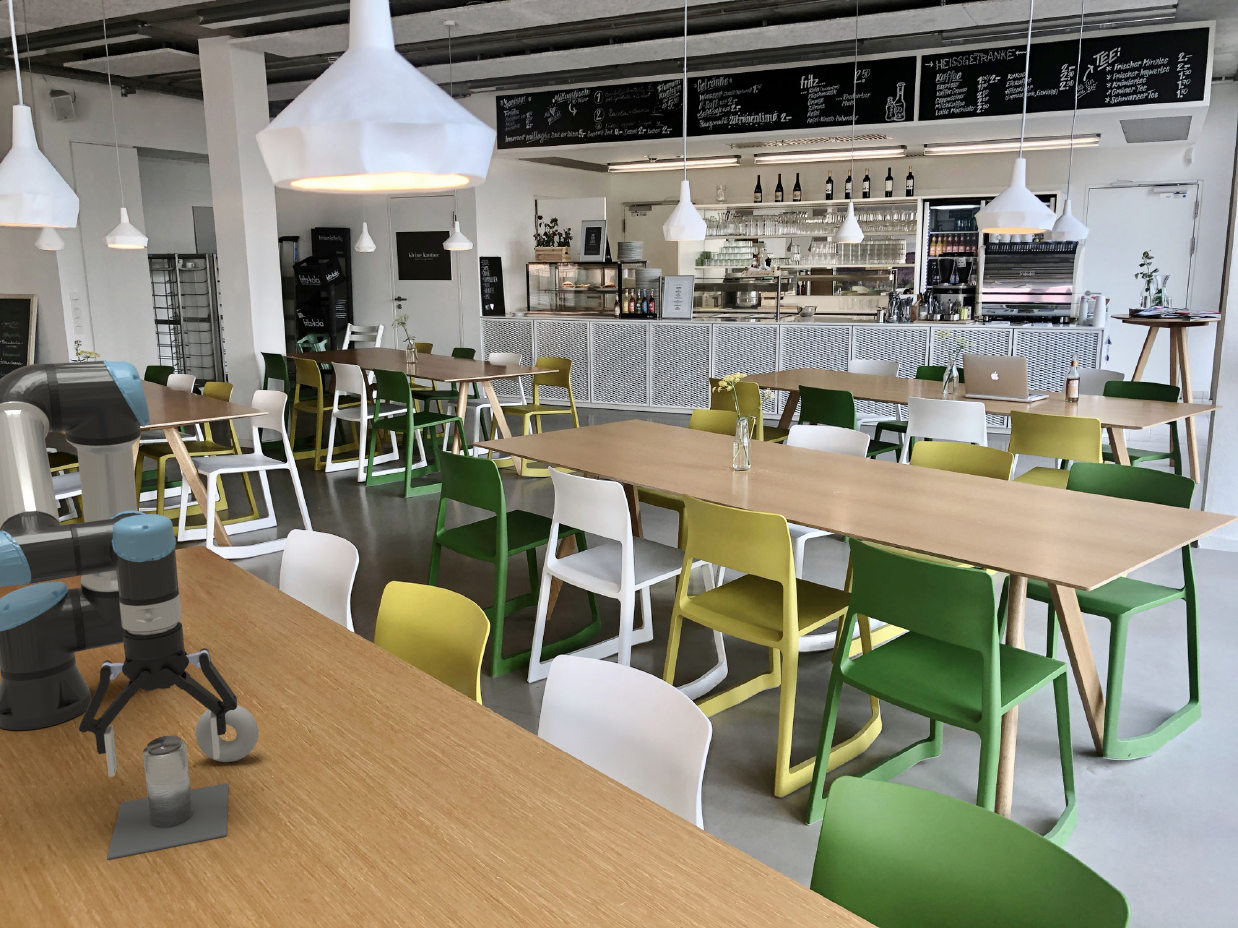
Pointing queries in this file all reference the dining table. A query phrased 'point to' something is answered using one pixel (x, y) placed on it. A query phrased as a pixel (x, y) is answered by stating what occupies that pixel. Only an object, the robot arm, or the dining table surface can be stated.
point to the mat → (142, 837)
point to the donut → (229, 749)
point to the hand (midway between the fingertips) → (165, 763)
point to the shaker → (167, 781)
